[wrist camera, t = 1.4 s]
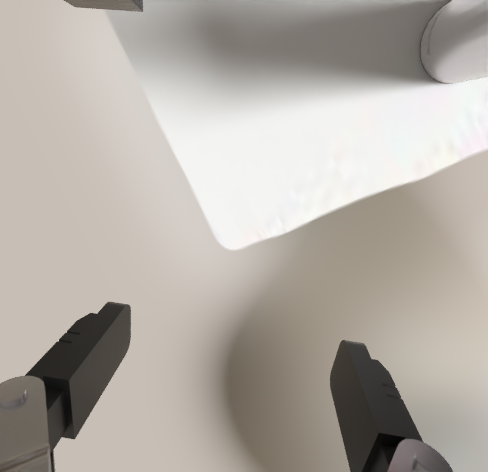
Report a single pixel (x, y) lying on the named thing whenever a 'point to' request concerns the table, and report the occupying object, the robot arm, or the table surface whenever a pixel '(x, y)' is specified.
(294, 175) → the table surface
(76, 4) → the lid
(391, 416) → the robot arm
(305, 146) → the table surface
